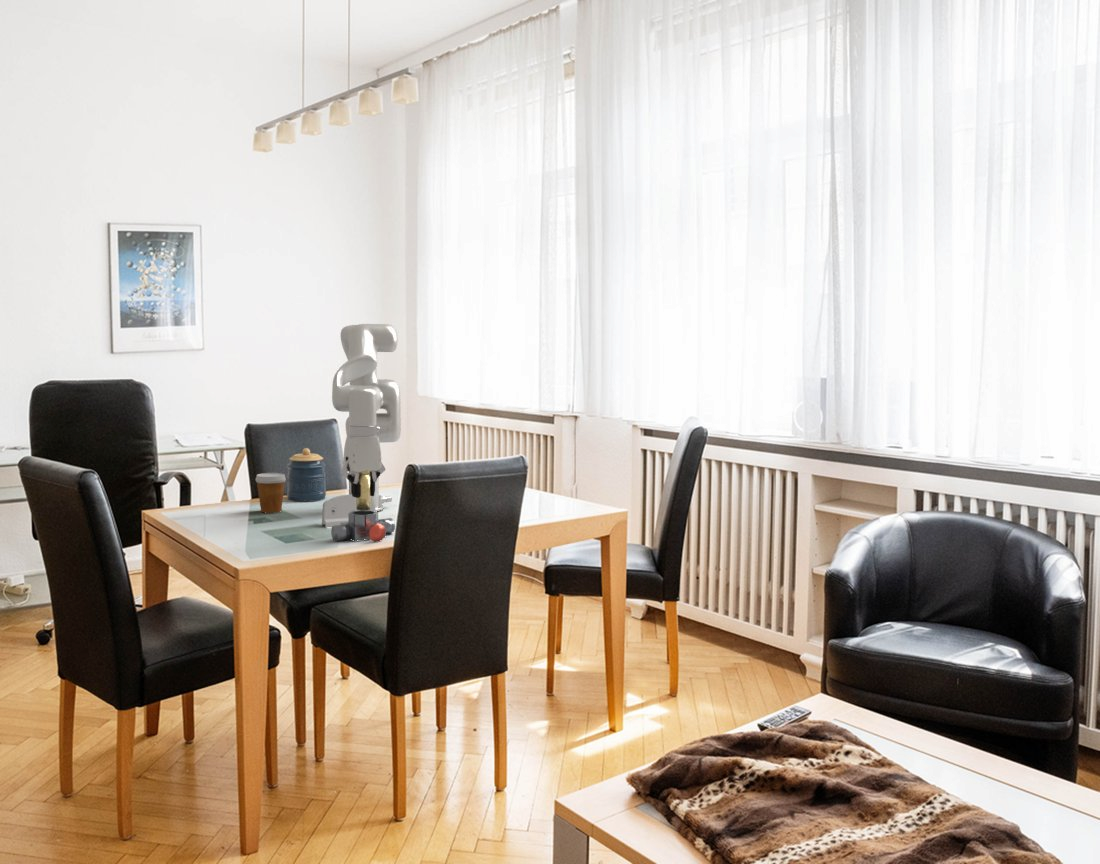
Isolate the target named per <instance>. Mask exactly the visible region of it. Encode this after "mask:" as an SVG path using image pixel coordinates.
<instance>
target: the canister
mask: <svg viewBox="0 0 1100 864" xmlns="http://www.w3.org/2000/svg"><path fill="white" fill-rule="evenodd" d="M323 460H324V457H323V456H321V455H320V454H318V453H311V450H310V449H309V447H306V448H305V447H304V448H303V449H302V452H301V453H296V454H293V456H291V457H289V461H290V462H289V463H287V465H286V467H287V469H288V472H287V475H286V477H287V495H286V496H287V499H288V500H289V501H291V502H301V503H302V502H305V503H307V502H318V501H322V500H325V499H326V496H327V490H326V475H327V474H326V473H325V467H326V466H327V464H326V463H325V462H323Z"/></svg>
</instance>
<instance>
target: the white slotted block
mask: <svg viewBox="0 0 1100 864" xmlns="http://www.w3.org/2000/svg"><path fill="white" fill-rule="evenodd" d="M370 510H372V511H376V509H375V505H374V501H373V499H372V498H371V509H370ZM351 511H358V510H357V509H356V497H353V496H352V495H349V494H344V495H343V494H342V495H338V496H334V497H331V498H329V499H326V500H324V502H323V504H322V513H321V514H322V515H321V516H322V518H321V526H325V528H326V527H333V526H335V525H341V523H345V522H349V520H348V513H350V512H351Z"/></svg>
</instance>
